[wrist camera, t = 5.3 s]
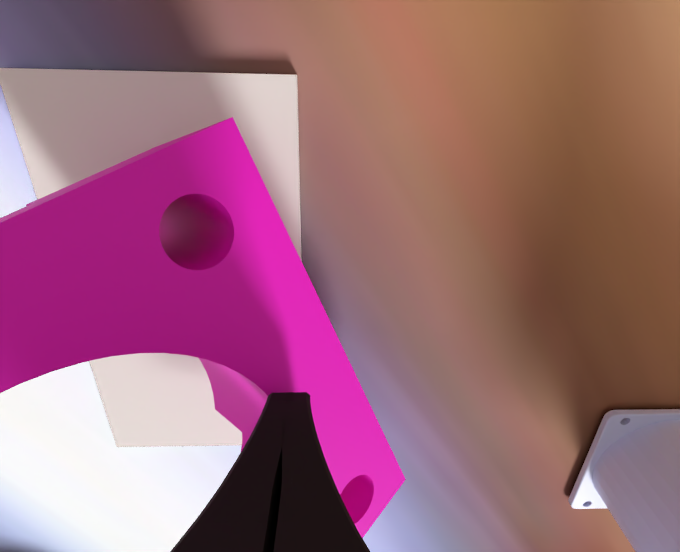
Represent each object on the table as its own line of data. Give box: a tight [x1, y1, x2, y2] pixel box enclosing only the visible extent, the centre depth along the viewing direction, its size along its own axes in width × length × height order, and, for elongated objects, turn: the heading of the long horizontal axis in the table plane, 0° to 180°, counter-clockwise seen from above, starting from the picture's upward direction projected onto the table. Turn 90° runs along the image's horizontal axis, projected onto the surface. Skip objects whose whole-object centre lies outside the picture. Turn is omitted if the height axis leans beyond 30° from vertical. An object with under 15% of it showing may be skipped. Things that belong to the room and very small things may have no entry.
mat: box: [0, 68, 302, 447], centre depth 18 cm, size 10×18×1 cm, turn 179°
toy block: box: [0, 117, 406, 538], centre depth 14 cm, size 15×6×8 cm
